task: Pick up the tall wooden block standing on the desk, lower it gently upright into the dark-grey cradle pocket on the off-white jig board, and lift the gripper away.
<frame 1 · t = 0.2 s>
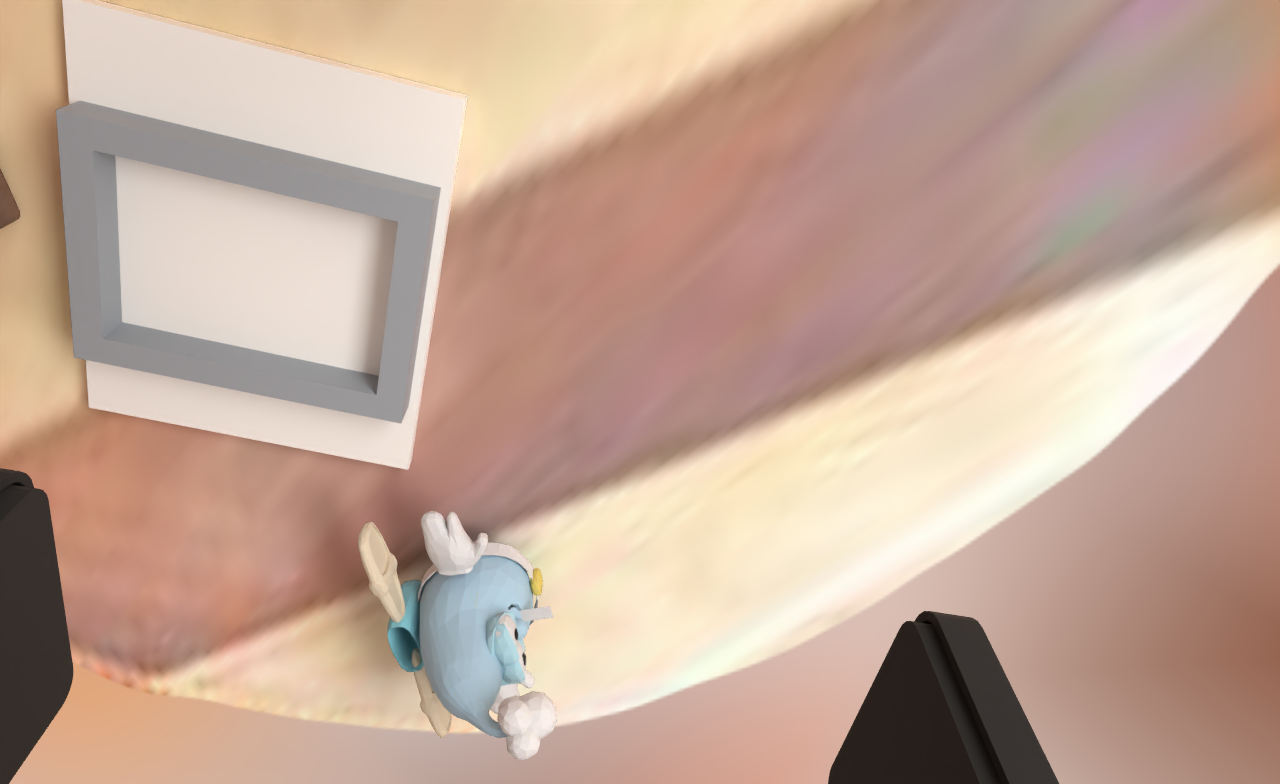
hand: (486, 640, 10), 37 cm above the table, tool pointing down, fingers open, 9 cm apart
toy figure: (491, 561, 57), on the table
jig: (266, 260, 46), on the table
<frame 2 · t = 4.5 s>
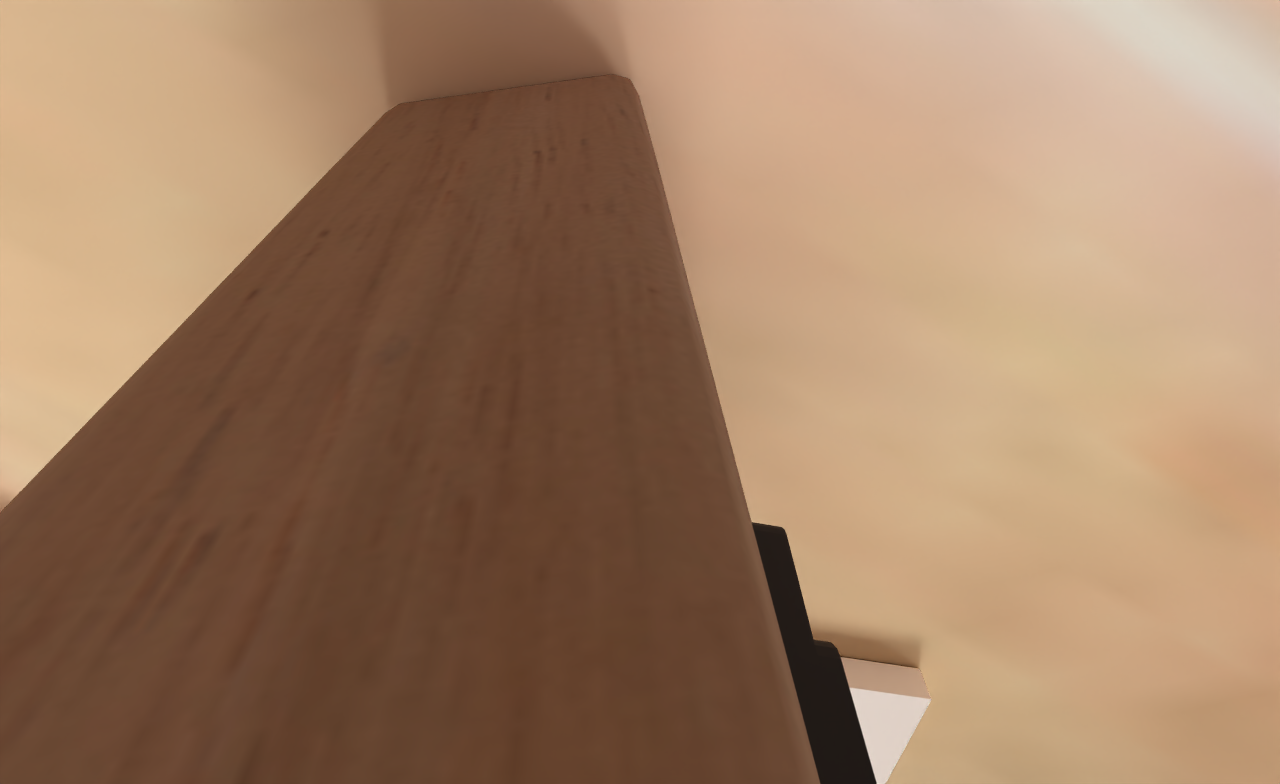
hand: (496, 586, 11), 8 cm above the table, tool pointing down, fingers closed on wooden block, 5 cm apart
wooden block: (552, 312, 18), on the table, touching gripper
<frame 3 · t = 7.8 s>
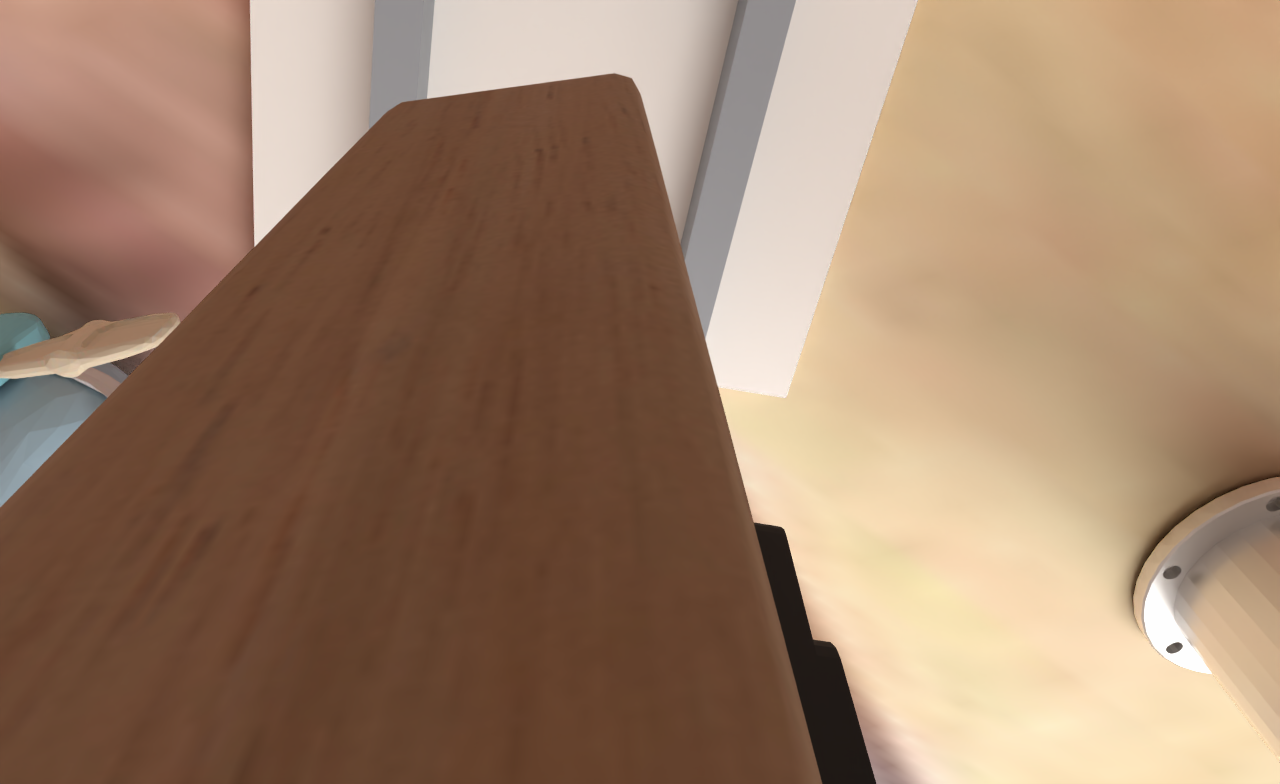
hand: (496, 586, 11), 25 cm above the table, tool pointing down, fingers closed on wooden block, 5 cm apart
toy figure: (100, 395, 38), on the table
jig: (566, 133, 32), on the table
wooden block: (553, 311, 18), point 17 cm above the table, touching gripper
when the fingers open (9 cm above the table, at t = 11.2 s): wooden block stays where it is, resting on jig.
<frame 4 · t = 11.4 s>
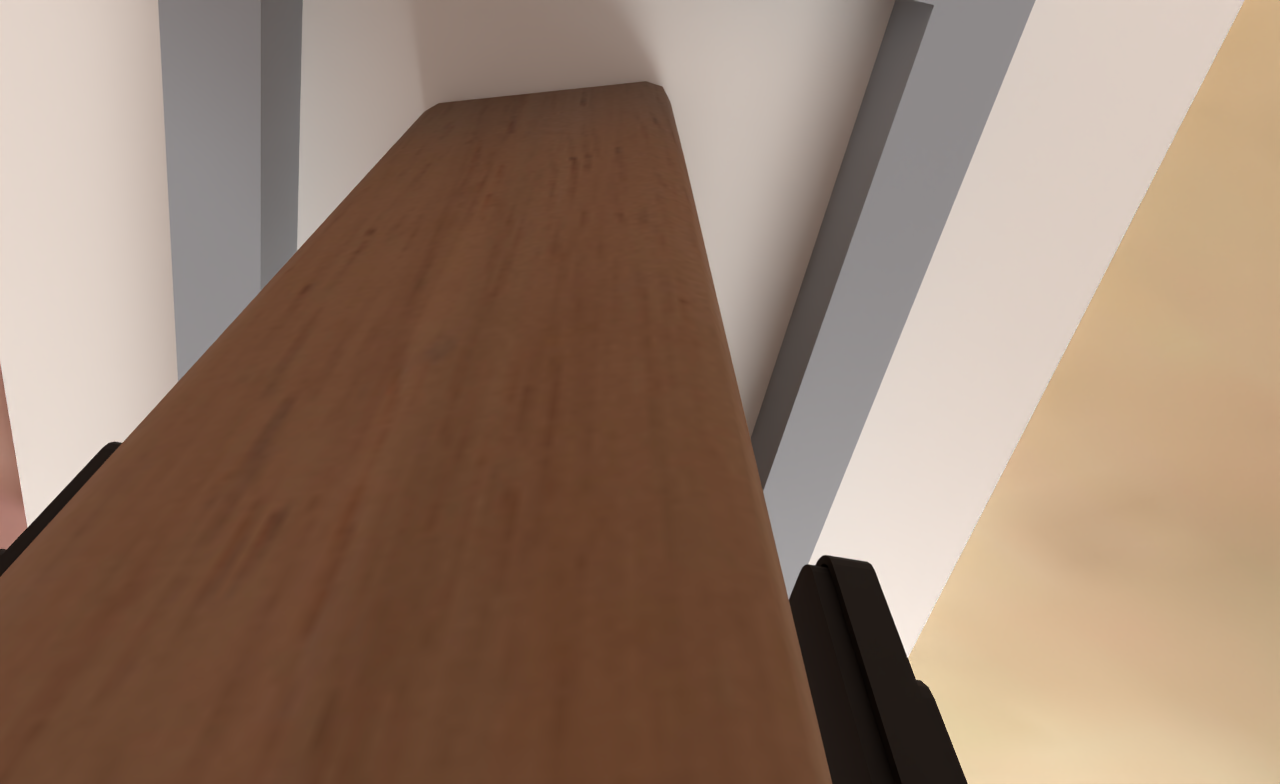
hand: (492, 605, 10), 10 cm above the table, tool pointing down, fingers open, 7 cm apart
jig: (550, 283, 19), on the table
wooden block: (577, 309, 18), point 1 cm above the table, touching jig
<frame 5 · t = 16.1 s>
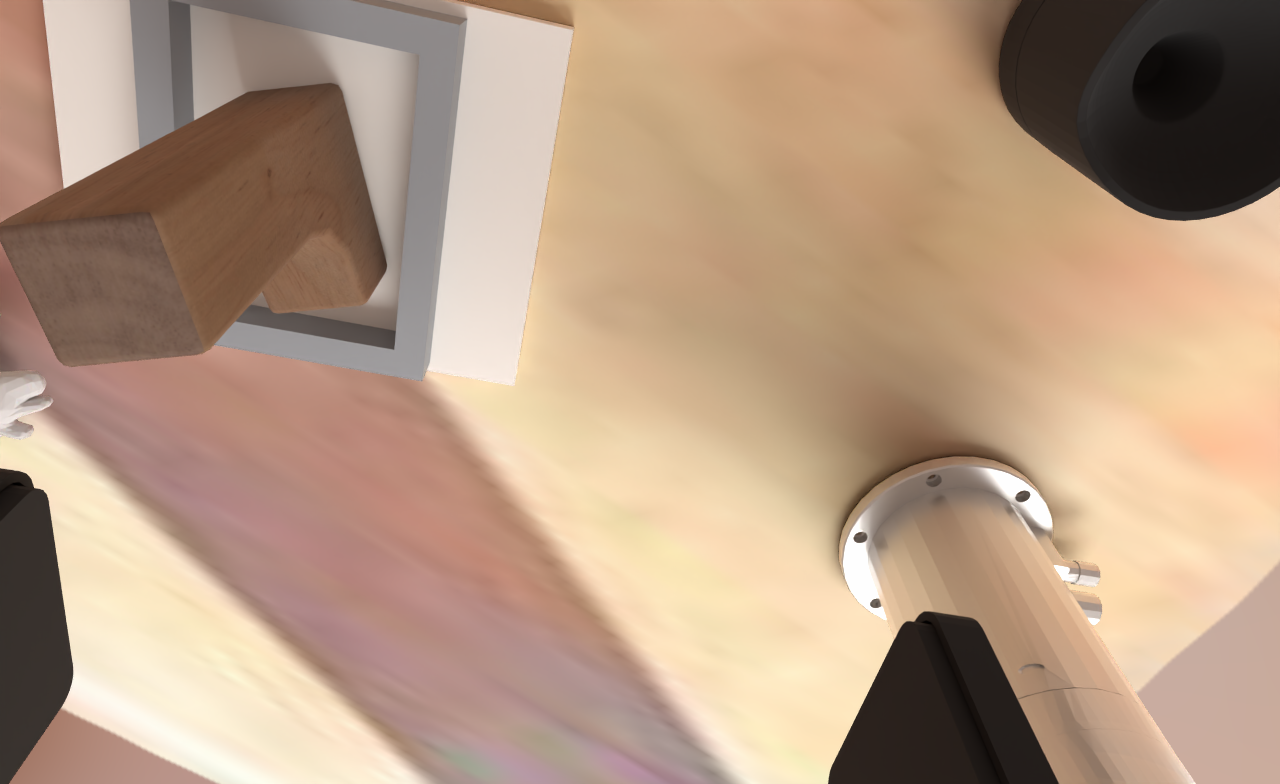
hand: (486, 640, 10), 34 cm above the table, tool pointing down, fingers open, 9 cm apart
pen holder: (1089, 47, 39), on the table
jig: (313, 174, 41), on the table
wooden block: (322, 184, 41), point 1 cm above the table, touching jig
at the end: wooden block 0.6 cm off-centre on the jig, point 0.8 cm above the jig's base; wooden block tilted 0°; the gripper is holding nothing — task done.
